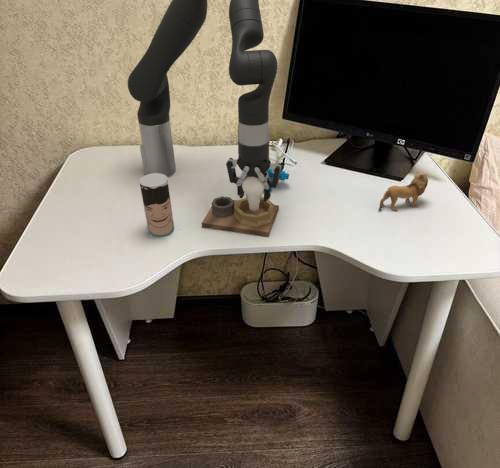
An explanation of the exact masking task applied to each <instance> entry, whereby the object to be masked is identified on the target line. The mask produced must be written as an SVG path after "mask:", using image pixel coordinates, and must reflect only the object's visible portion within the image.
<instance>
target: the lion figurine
mask: <svg viewBox="0 0 500 468" xmlns="http://www.w3.org/2000/svg"><path fill="white" fill-rule="evenodd" d="M428 184H429V177H428V174H426V173H424V172H419V173H416V174H414V177H413V179H412V180H411V182H410V183H409V184H408V185H402V186H401V185H399V186H398V185H392V186H389V187H388V188H387V190H386V191H385V193H384V194H383V197H381V199H380V200H379V201H380V202H379V208H378V209H377V210H378V211H381V210H382V208H384V207H385V204H384V203H385V201H386V200H388V199H389V198H390V201H391V203H390V208H391V209H392V211H394V212H398V208H397V207H395V205H396V203H397V202H398V200H399V199H402V200H403V199H404V200H405V201H404V202H405V204H410V203H411V206H412V208H415V209H416V208H417V207H418V206H417V204H416V203H417V202H418V198H419V197H421V196H422V195H423V194H424V193H425V191H426V189H427V187H428ZM410 198H411V199H412V202H411V199H410Z"/></svg>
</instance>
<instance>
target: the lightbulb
mask: <svg viewBox="0 0 500 468" xmlns="http://www.w3.org/2000/svg"><path fill="white" fill-rule="evenodd" d="M242 188H243V191H244V195H246V197H247V198H248V203H249V209H250V210H251V211H253V212H255V211H257V210H258V209H259V203H260V198H261V197H262V195H264V189H265V187H264V185H263V183H262V182H261V181H260V179H259V178H256V177H247V176H245V178H244V180H243V182H242Z"/></svg>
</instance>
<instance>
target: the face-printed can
mask: <svg viewBox="0 0 500 468" xmlns="http://www.w3.org/2000/svg"><path fill="white" fill-rule="evenodd" d="M139 186H140V192H141V197H142V202H143V208H144V215H145V219H146V228H147V232H148V234H149V236H151V237H153V238H158V239H160V238H165V237H168V236H170V235H172V234H173V233H174V232H175V224H174V216H173V209H172V203H171V195H170V194H171V193H170V188H169V180H168V177H167V176H166V175H164V174H160V173H152V174H144V175H143V176H142V177H141V178H140V179H139Z"/></svg>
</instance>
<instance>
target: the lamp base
mask: <svg viewBox="0 0 500 468" xmlns="http://www.w3.org/2000/svg"><path fill="white" fill-rule="evenodd" d="M279 210H280V205H277V204H274V203H273V202H272V201H271V200H270V199H269V200H267V201H264V196H261V198H260V203H259V209H258V210H257V211H255V212H253V211H251V210H250V209H249V203H248V198H247V196H246V197H243V198H239V199H232V198H231V197H229V196H219V197H215V198H213V200H212V202H211V206H210V208H209V209H208V211H207V213H206V215H205V216H204V218H203V219H202V221H201V228H202V229H210V230H216V231H217V230H218V231H223V232H231V233H237V234H238V233H239V234H246V235H251V236H259V237H265V238H266V237H267V238H268V237H270V234H271V231H272V228H273V226H274V223H275V221H276V218H277V216H278V212H279Z"/></svg>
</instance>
